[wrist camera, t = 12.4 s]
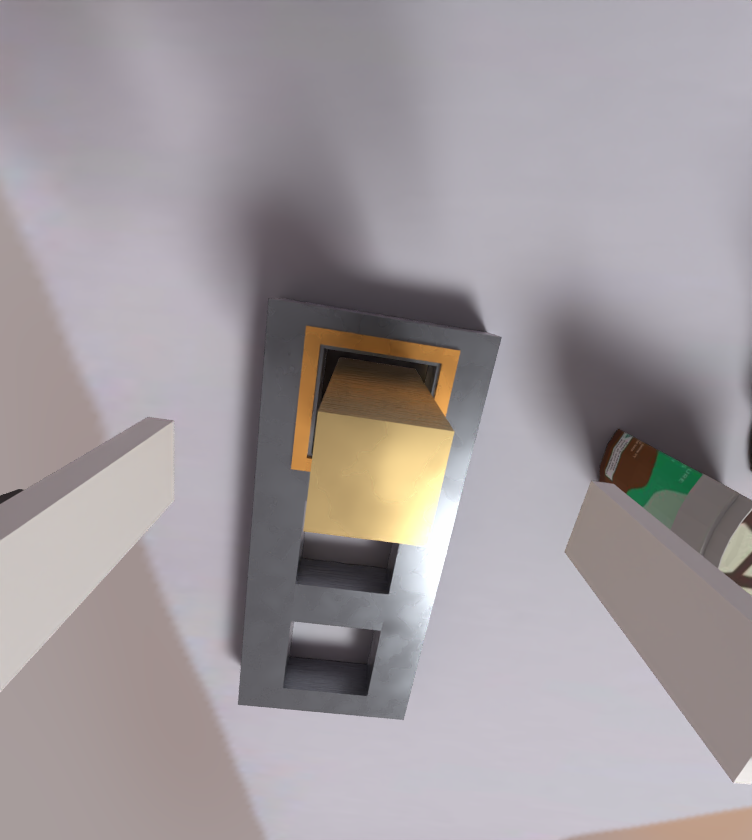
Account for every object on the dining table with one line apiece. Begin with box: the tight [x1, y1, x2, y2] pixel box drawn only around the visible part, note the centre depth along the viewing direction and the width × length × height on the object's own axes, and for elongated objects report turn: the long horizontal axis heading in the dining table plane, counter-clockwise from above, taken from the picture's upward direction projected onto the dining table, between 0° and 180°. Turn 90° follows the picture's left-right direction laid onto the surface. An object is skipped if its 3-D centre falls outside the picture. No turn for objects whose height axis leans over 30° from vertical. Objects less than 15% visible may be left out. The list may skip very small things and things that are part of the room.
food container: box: [599, 429, 752, 596], centre depth 22 cm, size 12×6×10 cm, turn 60°
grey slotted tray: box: [238, 298, 501, 720], centre depth 25 cm, size 28×12×3 cm, turn 171°
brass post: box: [303, 357, 455, 547], centre depth 19 cm, size 4×4×11 cm
